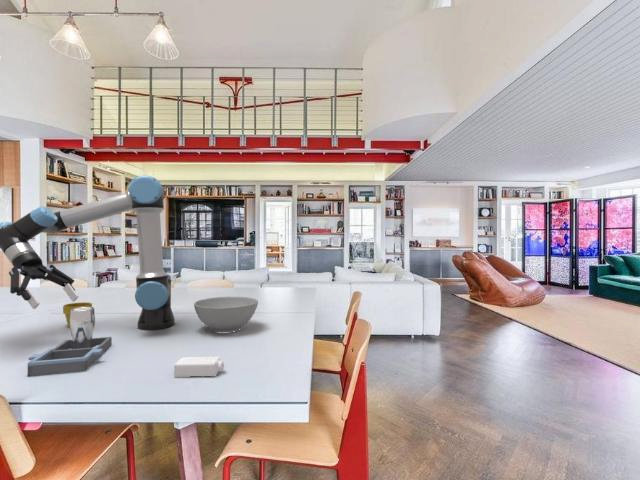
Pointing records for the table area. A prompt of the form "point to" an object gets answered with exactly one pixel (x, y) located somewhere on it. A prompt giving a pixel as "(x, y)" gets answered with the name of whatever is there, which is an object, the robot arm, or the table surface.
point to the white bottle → (198, 366)
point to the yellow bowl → (70, 306)
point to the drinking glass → (82, 327)
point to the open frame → (67, 358)
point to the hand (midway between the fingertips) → (57, 302)
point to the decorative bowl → (225, 312)
